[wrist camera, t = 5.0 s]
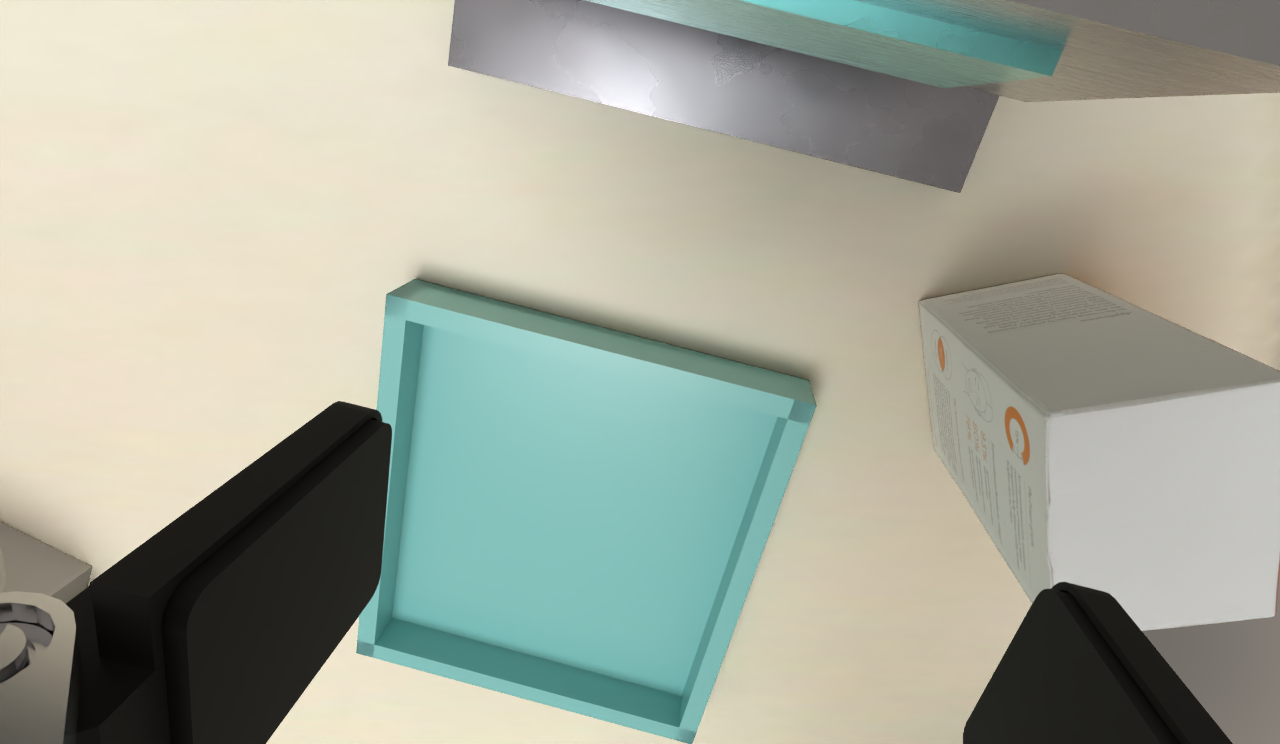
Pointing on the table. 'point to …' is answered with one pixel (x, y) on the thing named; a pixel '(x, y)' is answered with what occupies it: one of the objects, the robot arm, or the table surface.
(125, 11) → the table surface
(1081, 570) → the small box
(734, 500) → the teal tray
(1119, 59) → the mounted unit
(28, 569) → the grey portable radio
